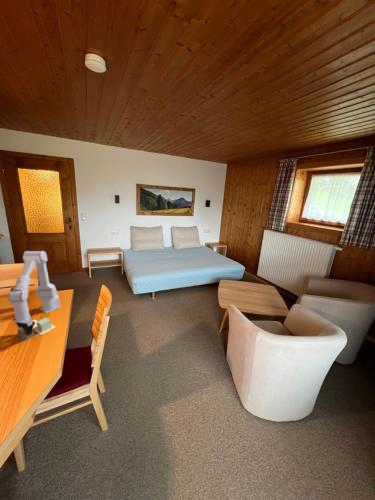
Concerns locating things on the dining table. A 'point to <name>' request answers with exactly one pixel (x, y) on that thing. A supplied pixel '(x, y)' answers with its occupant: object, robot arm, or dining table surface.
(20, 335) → the walnut block
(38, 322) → the sage block
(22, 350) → the dining table surface
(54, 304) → the robot arm
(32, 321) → the card
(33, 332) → the coaster
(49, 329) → the card
